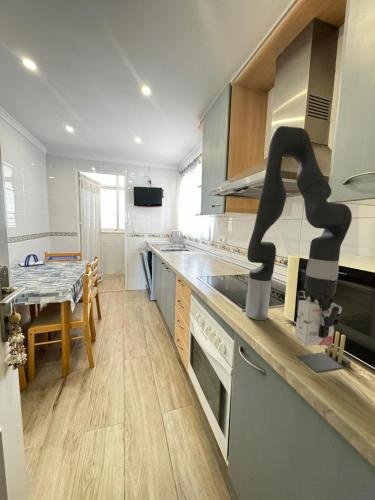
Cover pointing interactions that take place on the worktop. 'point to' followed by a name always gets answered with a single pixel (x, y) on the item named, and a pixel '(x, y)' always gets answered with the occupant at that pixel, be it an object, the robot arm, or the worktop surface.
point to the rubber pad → (320, 362)
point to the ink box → (310, 325)
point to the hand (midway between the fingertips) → (313, 331)
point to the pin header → (333, 353)
